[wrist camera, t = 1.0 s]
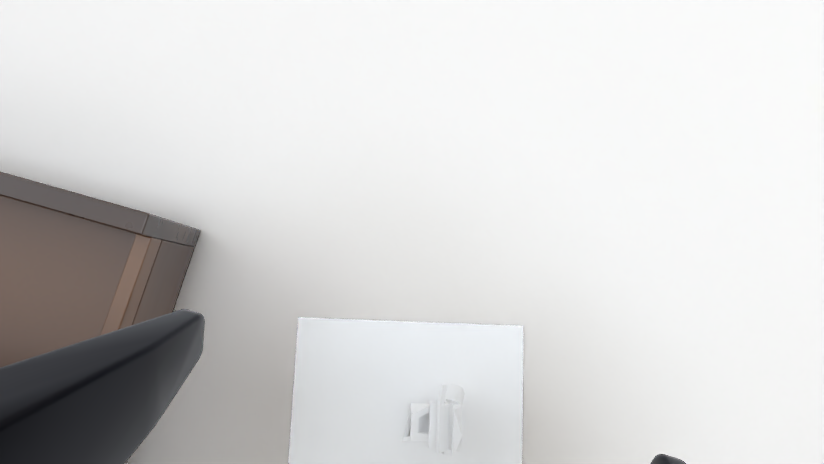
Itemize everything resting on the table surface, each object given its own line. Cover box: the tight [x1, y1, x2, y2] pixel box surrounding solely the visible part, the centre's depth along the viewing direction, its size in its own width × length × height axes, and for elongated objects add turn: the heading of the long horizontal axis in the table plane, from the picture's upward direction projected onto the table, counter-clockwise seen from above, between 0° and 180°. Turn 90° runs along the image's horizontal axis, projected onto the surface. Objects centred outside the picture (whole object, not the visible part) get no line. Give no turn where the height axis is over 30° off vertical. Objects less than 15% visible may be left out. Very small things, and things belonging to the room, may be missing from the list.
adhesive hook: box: [401, 382, 466, 458], centre depth 19 cm, size 3×3×3 cm
